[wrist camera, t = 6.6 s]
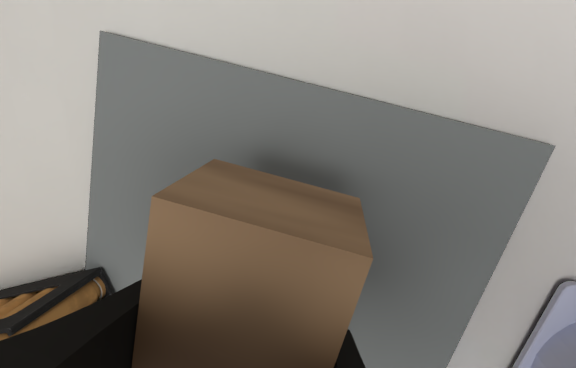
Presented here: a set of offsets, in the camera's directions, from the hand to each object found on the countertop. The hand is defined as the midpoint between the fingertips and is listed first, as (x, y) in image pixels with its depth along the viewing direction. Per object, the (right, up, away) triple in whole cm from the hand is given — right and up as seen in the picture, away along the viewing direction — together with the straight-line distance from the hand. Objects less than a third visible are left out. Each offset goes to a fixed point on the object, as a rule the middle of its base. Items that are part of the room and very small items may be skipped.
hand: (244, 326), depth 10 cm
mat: (+1, +2, +6) cm, 7 cm away
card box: (0, 0, +2) cm, 2 cm away
